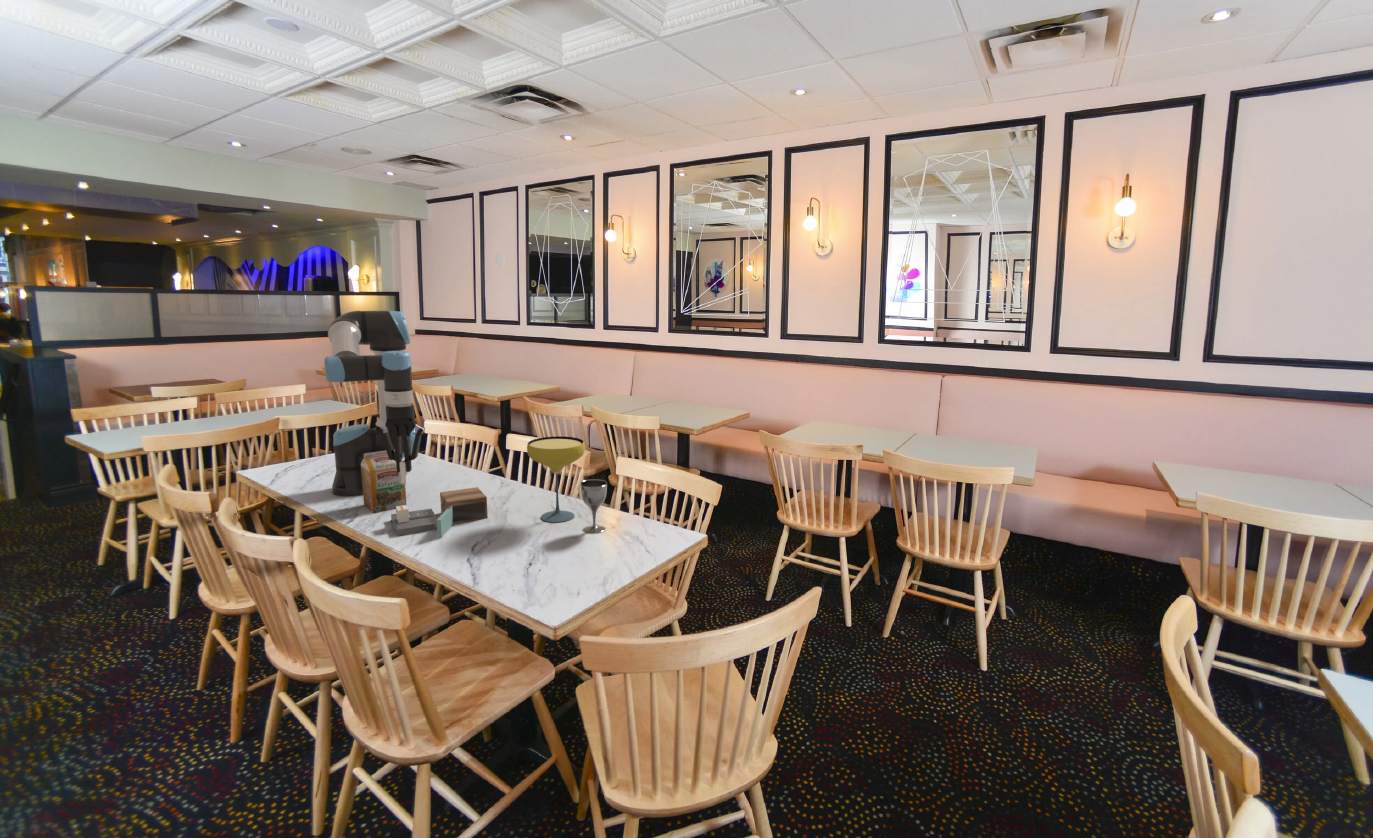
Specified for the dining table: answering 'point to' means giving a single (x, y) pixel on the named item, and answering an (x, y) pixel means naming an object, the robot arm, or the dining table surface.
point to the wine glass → (593, 500)
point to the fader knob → (402, 513)
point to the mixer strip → (415, 522)
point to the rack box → (465, 504)
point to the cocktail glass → (556, 464)
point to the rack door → (444, 521)
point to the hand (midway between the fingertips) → (405, 482)
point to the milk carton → (381, 483)
